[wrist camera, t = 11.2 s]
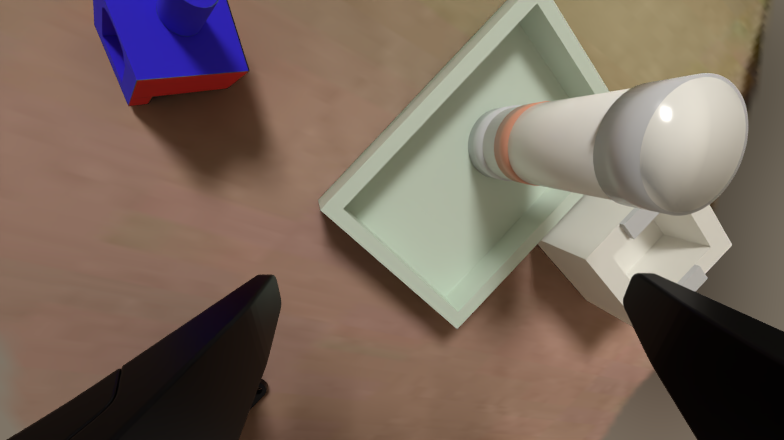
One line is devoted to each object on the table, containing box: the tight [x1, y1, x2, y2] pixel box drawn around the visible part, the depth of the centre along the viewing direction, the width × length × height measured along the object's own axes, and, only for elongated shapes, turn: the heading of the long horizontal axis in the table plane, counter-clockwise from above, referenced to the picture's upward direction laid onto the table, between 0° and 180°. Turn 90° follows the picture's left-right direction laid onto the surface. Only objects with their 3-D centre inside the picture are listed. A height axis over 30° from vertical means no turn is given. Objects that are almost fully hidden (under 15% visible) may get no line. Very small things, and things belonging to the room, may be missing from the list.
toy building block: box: [93, 0, 249, 106], centre depth 14 cm, size 4×4×8 cm
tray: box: [318, 0, 609, 329], centre depth 20 cm, size 16×11×3 cm
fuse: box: [468, 73, 748, 216], centre depth 15 cm, size 4×4×11 cm
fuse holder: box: [538, 195, 732, 327], centre depth 23 cm, size 8×8×5 cm
